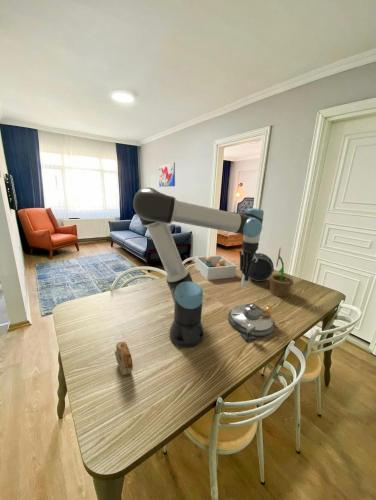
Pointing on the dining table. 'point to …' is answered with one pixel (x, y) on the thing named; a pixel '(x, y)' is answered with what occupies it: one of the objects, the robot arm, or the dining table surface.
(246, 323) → the turntable
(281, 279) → the flowerpot
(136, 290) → the dining table surface
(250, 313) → the cover
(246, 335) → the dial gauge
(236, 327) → the turntable base
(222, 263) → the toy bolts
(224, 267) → the parts crate
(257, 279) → the dark decorated bowl
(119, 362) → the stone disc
